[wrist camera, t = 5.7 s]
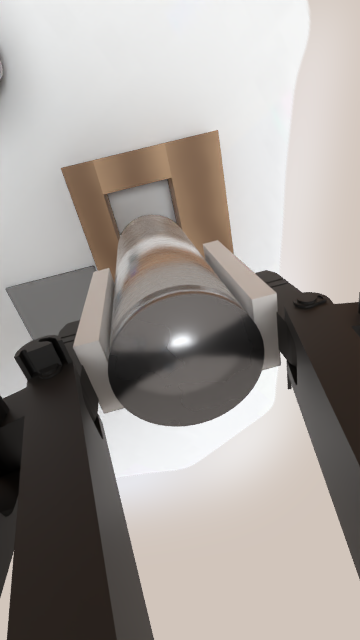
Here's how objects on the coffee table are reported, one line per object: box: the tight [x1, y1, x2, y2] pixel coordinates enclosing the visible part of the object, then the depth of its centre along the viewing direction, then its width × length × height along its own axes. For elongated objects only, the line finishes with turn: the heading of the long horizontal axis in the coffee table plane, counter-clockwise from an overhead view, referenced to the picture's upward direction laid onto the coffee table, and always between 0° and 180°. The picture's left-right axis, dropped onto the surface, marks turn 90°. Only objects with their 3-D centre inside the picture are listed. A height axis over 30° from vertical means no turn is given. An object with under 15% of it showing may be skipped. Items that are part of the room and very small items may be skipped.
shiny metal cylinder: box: [108, 215, 264, 426], centre depth 14 cm, size 5×5×13 cm
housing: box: [61, 130, 234, 284], centre depth 31 cm, size 14×12×4 cm
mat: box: [6, 266, 96, 340], centre depth 37 cm, size 10×10×1 cm
